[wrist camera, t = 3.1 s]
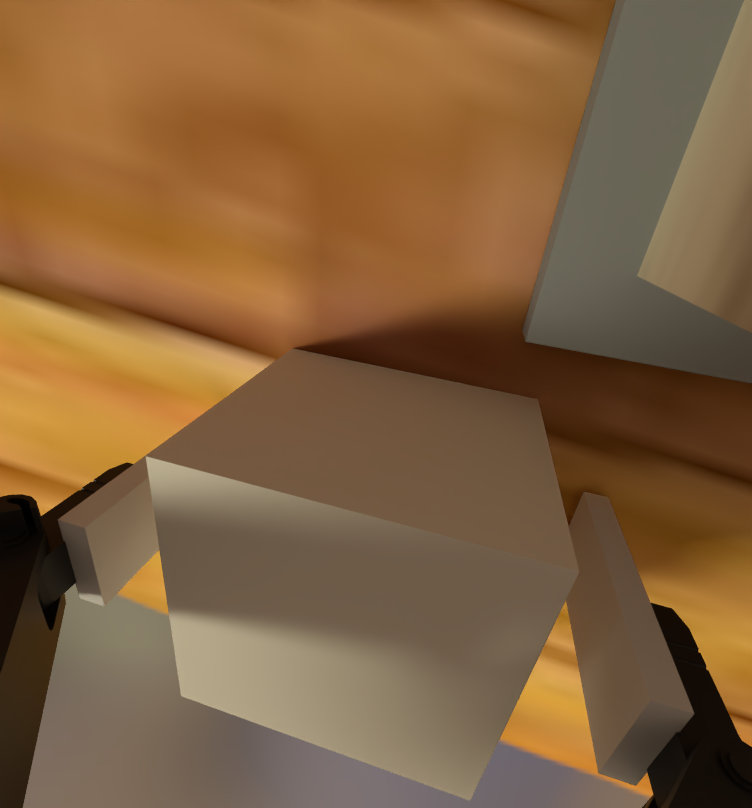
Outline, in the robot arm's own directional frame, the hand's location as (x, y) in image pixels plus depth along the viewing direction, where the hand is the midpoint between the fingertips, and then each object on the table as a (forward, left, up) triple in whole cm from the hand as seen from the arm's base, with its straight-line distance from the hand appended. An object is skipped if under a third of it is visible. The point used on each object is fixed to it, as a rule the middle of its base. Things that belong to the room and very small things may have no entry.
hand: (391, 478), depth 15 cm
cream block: (0, 0, 0) cm, 0 cm away
